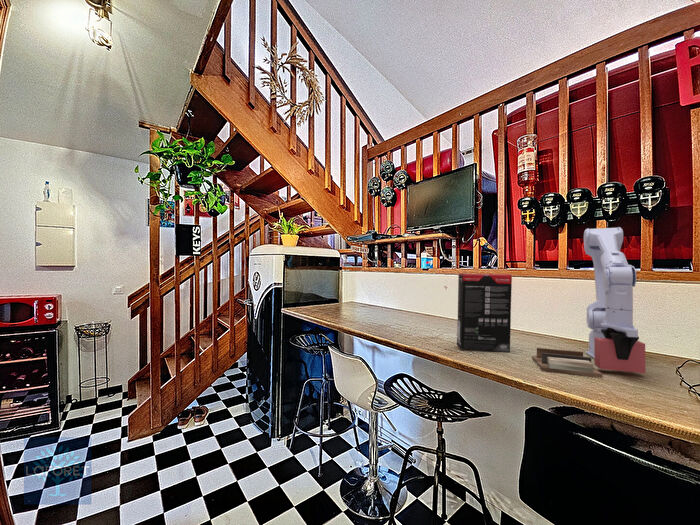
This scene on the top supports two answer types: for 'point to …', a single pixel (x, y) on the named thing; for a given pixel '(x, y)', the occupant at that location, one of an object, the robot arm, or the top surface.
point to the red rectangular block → (609, 360)
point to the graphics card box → (484, 312)
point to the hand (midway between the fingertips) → (618, 357)
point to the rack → (565, 362)
